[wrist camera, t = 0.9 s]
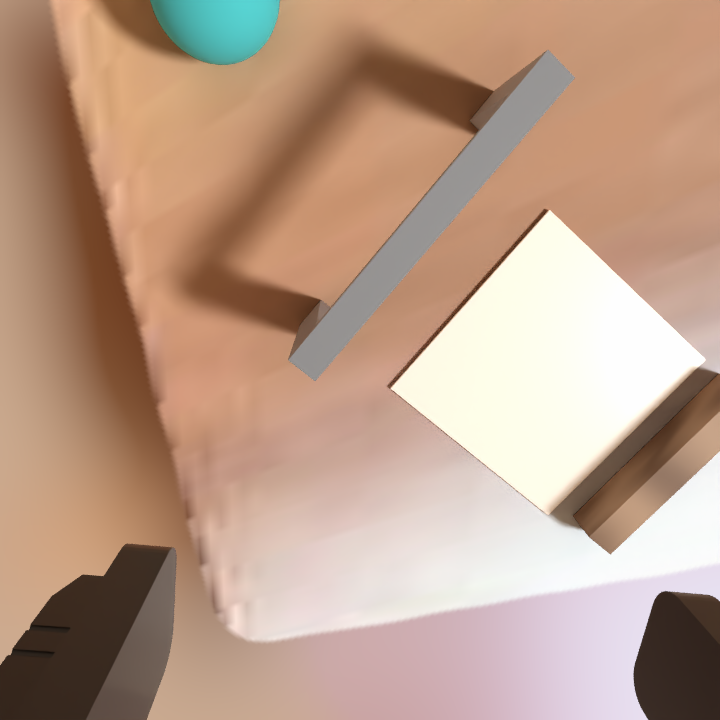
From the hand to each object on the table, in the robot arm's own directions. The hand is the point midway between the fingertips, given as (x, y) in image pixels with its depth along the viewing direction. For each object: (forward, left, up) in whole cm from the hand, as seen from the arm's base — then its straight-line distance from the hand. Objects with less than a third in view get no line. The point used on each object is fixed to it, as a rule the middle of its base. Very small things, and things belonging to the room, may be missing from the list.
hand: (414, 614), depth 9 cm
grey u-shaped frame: (-6, -2, -25) cm, 26 cm away
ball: (-8, -16, -22) cm, 28 cm away
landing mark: (-5, +11, -25) cm, 28 cm away
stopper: (-6, +21, -25) cm, 33 cm away
